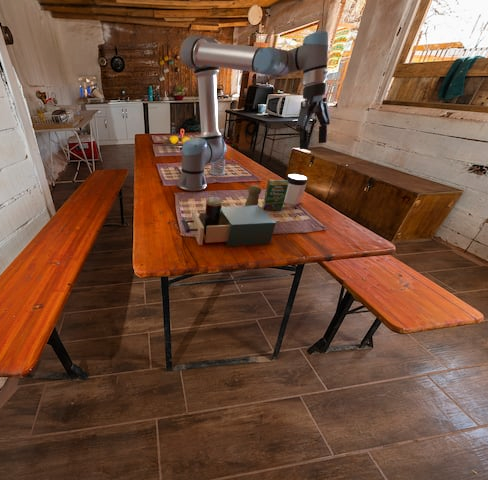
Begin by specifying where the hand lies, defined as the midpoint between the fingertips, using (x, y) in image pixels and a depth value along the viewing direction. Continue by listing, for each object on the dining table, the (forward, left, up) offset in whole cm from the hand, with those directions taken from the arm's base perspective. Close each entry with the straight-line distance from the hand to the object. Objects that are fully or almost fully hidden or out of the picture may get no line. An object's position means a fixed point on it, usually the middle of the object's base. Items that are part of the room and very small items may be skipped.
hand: (313, 145), depth 100 cm
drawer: (+20, -45, -26) cm, 56 cm away
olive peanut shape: (0, -20, -27) cm, 34 cm away
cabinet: (+20, -32, -27) cm, 47 cm away
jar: (-7, +3, -27) cm, 29 cm away
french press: (-52, -20, -27) cm, 63 cm away
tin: (+20, -45, -25) cm, 55 cm away
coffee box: (0, -10, -27) cm, 29 cm away
